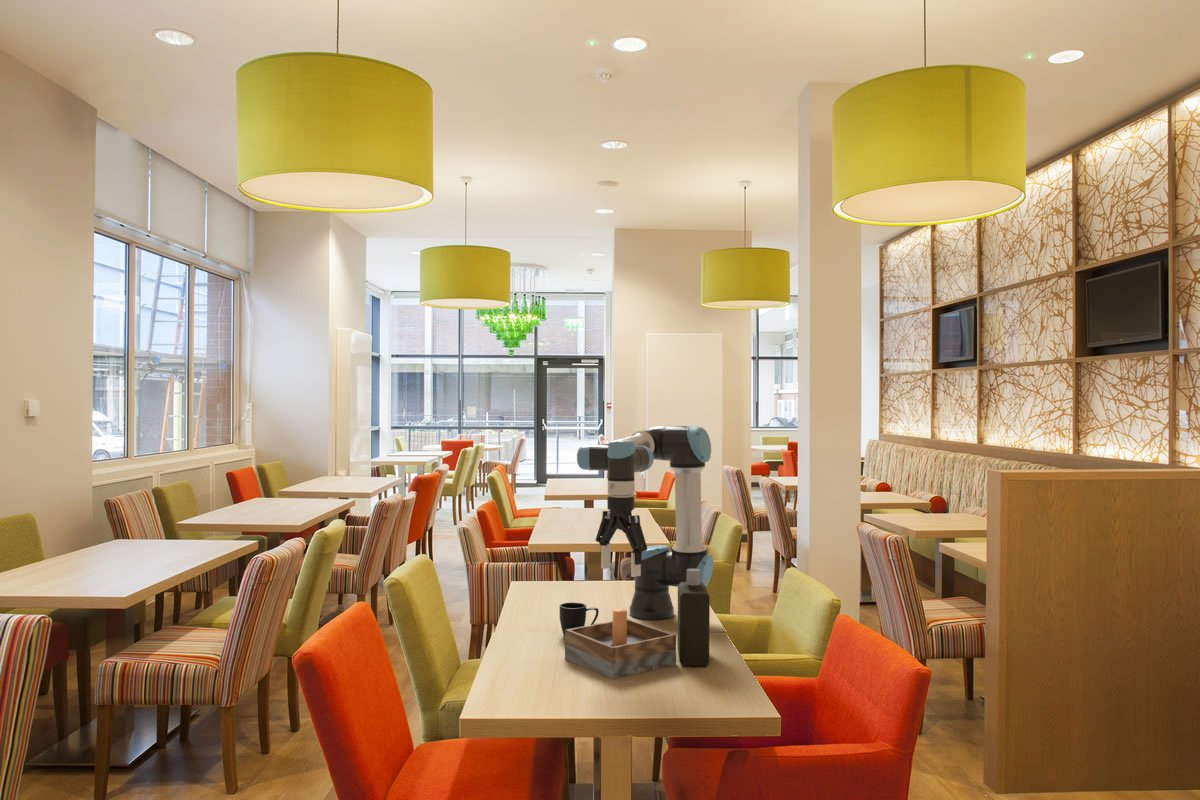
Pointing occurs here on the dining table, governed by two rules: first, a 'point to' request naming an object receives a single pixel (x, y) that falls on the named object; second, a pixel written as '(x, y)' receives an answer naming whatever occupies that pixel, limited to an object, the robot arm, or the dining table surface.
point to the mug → (574, 615)
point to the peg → (619, 627)
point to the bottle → (693, 621)
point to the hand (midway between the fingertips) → (620, 572)
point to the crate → (620, 649)
